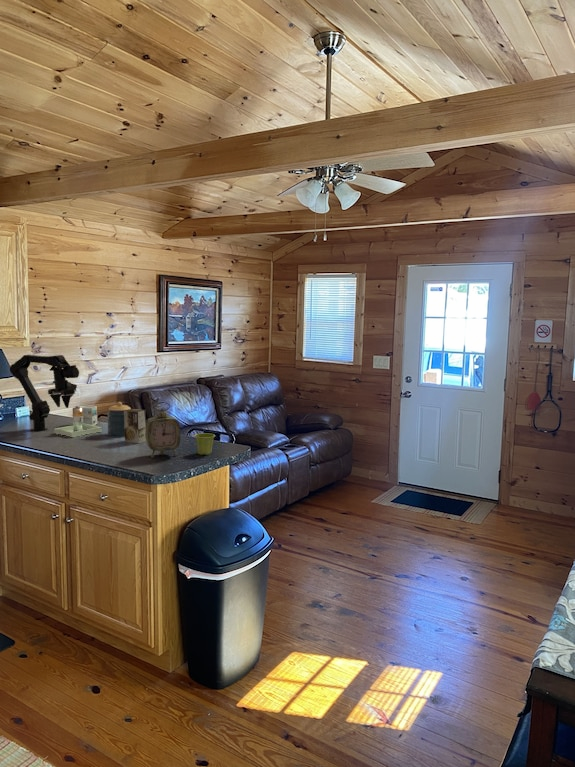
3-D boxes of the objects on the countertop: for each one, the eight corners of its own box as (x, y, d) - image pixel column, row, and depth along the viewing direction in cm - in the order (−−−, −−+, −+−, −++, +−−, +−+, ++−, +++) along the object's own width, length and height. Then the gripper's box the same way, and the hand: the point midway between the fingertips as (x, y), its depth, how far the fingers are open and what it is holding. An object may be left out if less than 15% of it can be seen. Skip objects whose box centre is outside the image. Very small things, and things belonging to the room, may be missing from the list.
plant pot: (205, 450, 276) (205, 432, 275) (219, 453, 270) (219, 435, 269) (190, 453, 269) (190, 435, 268) (204, 457, 263) (204, 438, 262)
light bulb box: (97, 424, 333) (97, 405, 332) (92, 426, 327) (92, 407, 325) (80, 423, 334) (79, 405, 333) (74, 426, 328) (74, 407, 326)
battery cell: (72, 432, 307) (71, 407, 305) (75, 430, 312) (74, 405, 310) (81, 432, 307) (80, 407, 305) (84, 430, 312) (83, 405, 310)
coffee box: (147, 441, 293) (146, 409, 291) (138, 443, 287) (138, 411, 285) (132, 439, 297) (132, 408, 295) (124, 441, 291) (123, 410, 289)
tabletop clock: (148, 459, 258) (147, 404, 255) (145, 454, 266) (144, 401, 263) (180, 456, 264) (180, 402, 261) (176, 451, 272) (175, 399, 269)
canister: (102, 435, 304) (101, 402, 301) (118, 431, 316) (117, 399, 313) (122, 438, 299) (121, 404, 297) (137, 433, 311) (137, 401, 309)
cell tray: (54, 433, 307) (54, 428, 307) (84, 428, 322) (84, 423, 321) (71, 437, 298) (71, 432, 297) (101, 432, 312) (101, 427, 312)
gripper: (82, 377, 309) (85, 406, 311) (65, 376, 321) (68, 404, 323) (62, 379, 301) (66, 409, 302) (46, 379, 313) (49, 407, 315)
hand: (62, 407), depth 311 cm, fingers open, 9 cm apart
